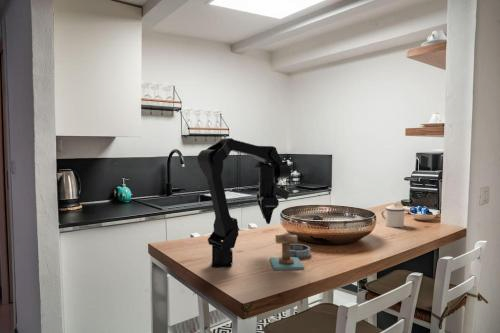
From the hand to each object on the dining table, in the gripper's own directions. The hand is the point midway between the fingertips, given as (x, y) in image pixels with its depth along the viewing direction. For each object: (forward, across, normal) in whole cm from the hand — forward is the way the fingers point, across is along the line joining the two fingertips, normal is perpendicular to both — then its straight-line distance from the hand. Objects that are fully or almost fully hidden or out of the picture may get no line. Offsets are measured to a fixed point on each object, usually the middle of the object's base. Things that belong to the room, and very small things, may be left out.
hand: (266, 221), depth 134 cm
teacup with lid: (+12, +40, -69) cm, 81 cm away
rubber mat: (+12, -14, -5) cm, 19 cm away
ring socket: (+12, -3, -11) cm, 17 cm away
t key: (+11, -14, -5) cm, 19 cm away
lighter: (+12, +20, -25) cm, 34 cm away
